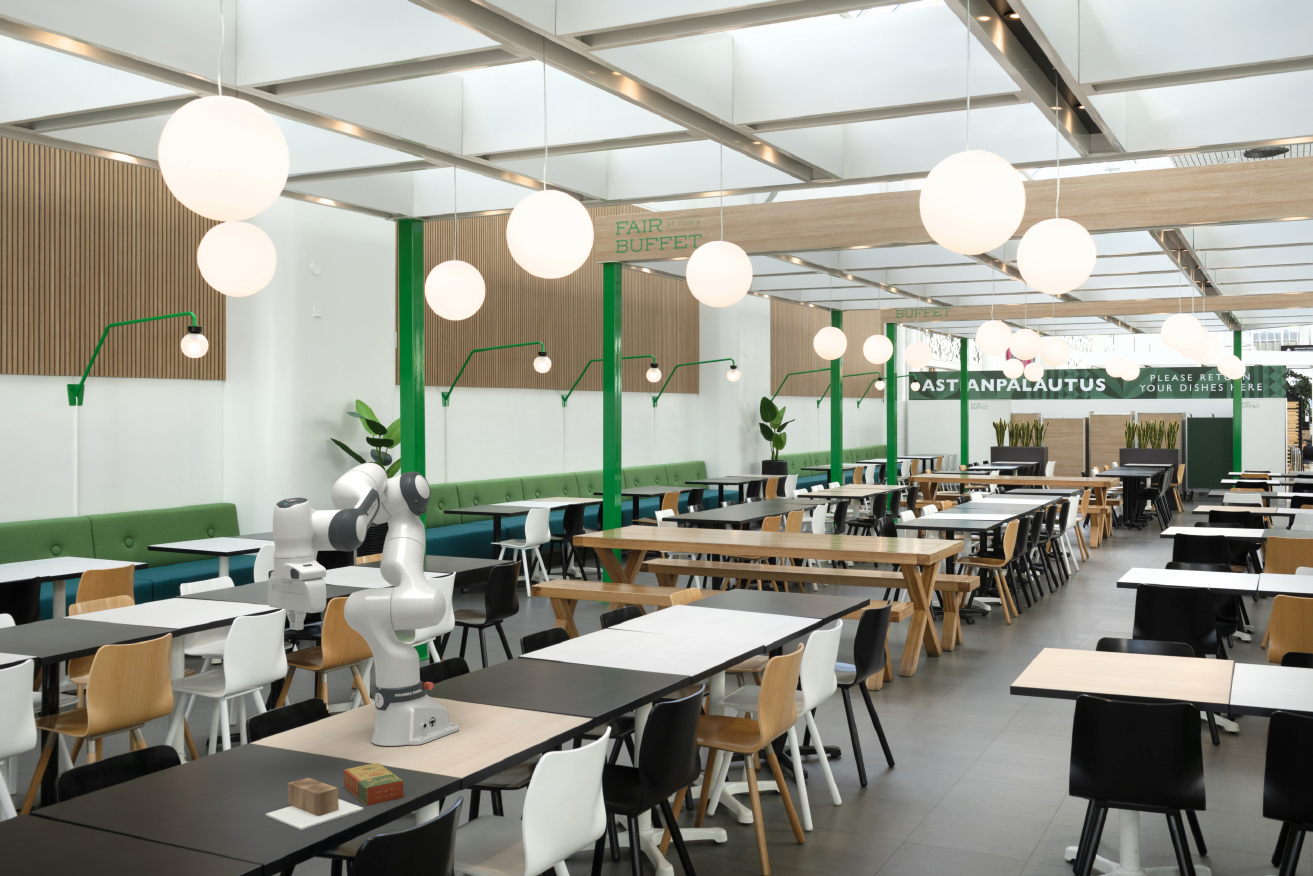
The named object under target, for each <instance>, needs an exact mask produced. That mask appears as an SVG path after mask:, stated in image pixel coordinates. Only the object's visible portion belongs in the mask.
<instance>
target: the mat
mask: <svg viewBox="0 0 1313 876" xmlns="http://www.w3.org/2000/svg"><path fill="white" fill-rule="evenodd" d="M338 805H339V810H337V811H334V812H331V813H328V814H325V815H321V816H317V815H314V814H312V813H309V812H306V811H304V810H301V809H299V808H296V807H293V806H291V805H289V806H286V807H283V808H279V809H277V810H273V811H270V812H267V813H265V816H266V817H268V818H270V819H273V820H274V821H277V822H280V823H283V824H284V825H287V826H290V827H292V828H295V829H296V830H298V831H299V830H300V831H304V830H306V829H309V828H313V827H315V826H318V825H322V824H325V823H328V822H331V821H334V820H337V819H339V818H344V817H346V816H349V815H353V814H356V813H358V812H362V811H364V809H365V808H364V807H362V806H359V805H357V804H353V803H351V802H348V801H346V800H343V799H339V798H338Z"/></svg>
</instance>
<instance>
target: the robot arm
mask: <svg viewBox="0 0 1313 876" xmlns="http://www.w3.org/2000/svg"><path fill="white" fill-rule="evenodd" d="M430 500H431V488H430V483H429V482H428V480H427V479H426V478H425V476H424V475H422V474H421V473H420V472H419V471H408V472H403V473H402V474H399V475H396V476H393V477H389V478H388V474H387V472H386V471H385V469H384V468H383V466H380V465H379V464H377V463H375V462H364V463H361V464H359V465H355V467H352V468H351V469H349V470H347V472H345V473H344V474H343V475H341V476H340V477H339V478H338V479H337V480H336V481H335V482H334V484H333V485H332V488H331V501H332V504H333V506H334V507H335V509H318V510H317V509H314V508H312V507H311V504H310V501H309V499H308V498H305V497H291V498H286V499H282V500H280V501H278V502H276V503H275V506H274V509H273V516H272V541H273V543H274V553H273V570H272V572H271V573H270V577H269V578H268V582H267V605H268V606H269V607H270V608H274V609H275V608H276V609H281V610H286V617H287V618H288V621H289V629H291V630H294V631H301V630H302V631H303V630H304V628H305V627H304V626H305V625H304V621H305V619H306V615H307V613H308V614H314V613H323V612H324V611H325V609H326V607H327V585H326V581H325V579H324V578H326V577H327V569H326V567H325V566H323V565H321V564H320V563H319V562H318V561H317V560H316V559H315V551H318V552H319V551H321V552H322V551H324V552H325V551H328V552H329V551H340V552H354V551H356V550H357V549H358V548H360V547H361V545H362V544H363V543H364V541H365V540H366V537H367V533H368V530H369V528H370V527H377V526H380V525H382V524H385V523H387V526H388V530H387V532H386V535H385V539H384V542H383V549H382V554H381V555H382V556H381V561H380V566H379V570H380V571H379V573H380V575H381V577H382V578H383V580H385V582H387V583H388V584H389V585H391V586H392V587H373V588H366V589H362V590H358V591H354V592H352V593H351V594H350V595H349V596H348V597H347V599H346V601H345V603H344V606H343V616H344V620H345V622H346V623H347V625H348V626H349V627H350V628H351V630H354V631H355V632H356V633H358V634H359V635H360V636H361V637H362V638H363V639H364V640H365V641H366V643H367V645H368V646H369V649H370V650H371V653H372V657H373V664H374V671H375V673H374V674H375V675H374V676H375V685H374V689H373V690H374V693H373V694H374V704H375V705H374V706H375V718H374V727H373V732H372V736H371V741H370V742H371V743H372V744H373V745H377V746H385V747H386V746H387V747H393V746H394V747H395V746H396V747H398V746H409V745H412V746H417V745H423V744H426V743H429V742H431V741H434V740H437V739H440V738H443V737H444V736H447V735H450V734H452V733H455V732H458V731H459V729H460V728H459V726H458V724H457V723H455V722H452V721H450V716H449V713H448V709H447V708H446V706H445V705H444V704H442V703H440V702H439V701H437V700H436V699H435V698H433V697H431V696H429V695H428V694H427V692H426V690H428V691H432V690H433V689H434V686H435V685H434V683H433V682H431V681H426V682H424V681H422V680H421V677H420V676H421V675H420V655H419V653H418V650H417V649H416V648H415V647H414V646H413V645H410V644H409V643H407V642H404V641H402V640H401V639H400V638H398V637H397V634H396V633H395V631H408V630H422V629H426V628H430V627H434V626H435V627H436V626H438V625H439V624H440V623H441V622H442V621H443V619H444V618H445V614H446V611H447V603H446V598H445V596H444V595H443V593H442V592H441V590H440V589H438V588H437V587H435V586H433V585H432V584H431V583H430V582H429V581H428V580H427V579H426V577H425V573H424V562H425V553H426V529H425V525H424V522H423V521H422V520H421V519H420V517H422V516H423V515H424V514H425V513H426V512H427V507H428V505H429V503H430Z"/></svg>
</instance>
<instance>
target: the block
mask: <svg viewBox="0 0 1313 876" xmlns="http://www.w3.org/2000/svg"><path fill="white" fill-rule="evenodd" d="M287 796H288V797H287V799H288V805H289V806H293V807H296V808H299V809H301V810H304V811H306V812H309V813H312V814H314V815H317V816H321V815H325V814H328V813H331V812H334V811H337V810H339V805H338V799H339V788H338V787H337V786H333V785H330V784H327V783H325V782H322V781H319V780H317V779H314V778H310V777H304V778H301V779H297V780H294V781H291V782H288V783H287Z"/></svg>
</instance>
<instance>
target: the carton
mask: <svg viewBox="0 0 1313 876" xmlns="http://www.w3.org/2000/svg"><path fill="white" fill-rule="evenodd" d="M343 784H344V785H343V786H344V788H345V789H346V790H347V791H348V792H350V793H351V794H352V795H353V796H355V797H356V798H357V799H358V800H359V801H360V802H361V803H362V804H364V806H366V807H367V806H372V805H376V804H379V803H384V802H388V801H393V800H397V799H402V798H404V797H405V796H404V781H403V779H401V778H400V777H399V776H397V775H396V774H395V773H393V772H392V771H391V770H389V769H388V768H386V767H385V766H383V765H382V764H380V762H376V763H370V764H364V765H359V766H354V767H350V768H345V769H343Z"/></svg>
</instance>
